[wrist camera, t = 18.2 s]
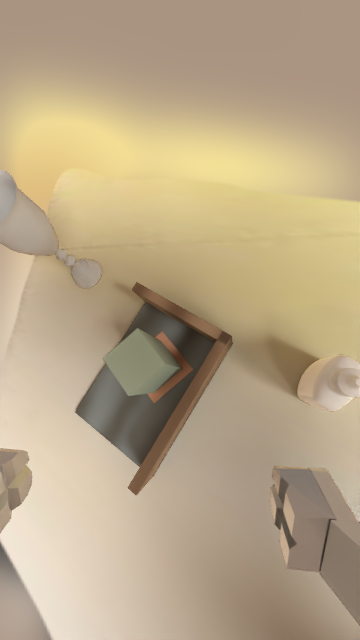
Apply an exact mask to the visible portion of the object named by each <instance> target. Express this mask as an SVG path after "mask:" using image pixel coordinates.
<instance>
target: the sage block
mask: <svg viewBox="0 0 360 640" xmlns="http://www.w3.org/2000/svg"><path fill="white" fill-rule="evenodd" d="M103 360H104V361H105V363H106V364H107V366H108V367H109V369H110V370H111V371H112V373H113V374H114V376H115V377H116V379H117V380H118V382H119V383H120V385H121V386H122V388H123V389H124V390H125V392H126V393H127V395H128V396H133V395H140V394H147V393H155V392H156V391H157V390H159V389H160V388H161V387H162V386H163V385H164V384H165V383H167V382H168V381H169V380H170V379H171V378H172V377H174V376H175V375H176V374H177V373H178V372H179V371H181V370H182V369H183V368H182V367H181V365H180V364H179V363H178V362H177V360H176V359H175V358H174V357H173V355H172V354H171V353H170V352H169V350H168V349H167V348H166V347H165V345H164V344H163V343H162V342H161V341H160V340H158V339H157V338H155V337H153V336H151V335H149V334H147V333H146V332H144V331H142V330H140V329H138V328H137V329H136V330H135V331H134V332H133V333H131V334H130V335H129V336H128V337H127V338H126V339H124V340H123V341H122V342H121V343H120V344H119V345H118V346H116V347H115V348H114V349H113V350H112V351H111V352H109V353H108V354H107V355H106V356H105V357H104V358H103Z"/></svg>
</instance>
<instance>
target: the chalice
mask: <svg viewBox="0 0 360 640" xmlns="http://www.w3.org/2000/svg"><path fill="white" fill-rule="evenodd" d="M0 243H1V244H2V245H4V246H6V247H8V248H9V249H11V250H13V251H16V252H19V253H24V254H29V255H43V256H50V255H52V254H55V255H56V256H57V259H59V260H64V261H65V265H66V266H72V270H71V272H72V276H73V278H74V280H75V282H76V284H77V285H78V286H79V287H81V288H90V287H93V286H94V285H95V284H97V282H98V281H99V280H100V278H101V274H102V269H101V266H100V264H99V263H98V262H96V261H94V260H89V259H80V260H78V261H75V257H74V256H72V255H69V256H68V255H67V254H66V251H65V250H64V249H59V248H58V245H59V242H58V239H57V236H56V234H55V231H54V229H53V227H52V225H51V223H50V221H49V219H48V218H47V216H46V214H45V212H44V211H43V210H42V209H41V208H40V207H39V206H37V205H36V204H35V203H34V202H33V201H32V200H31V199H30V198H28V197H27V196H26V195H25V194H24V193H23V192H22V191H21V190H19V189H18V187H17V185H16V183H15V181H14V179H13V177H12V176H11V175H10V174H9V173H7V172H6V171H3V170H0Z"/></svg>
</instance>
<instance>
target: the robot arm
mask: <svg viewBox="0 0 360 640" xmlns="http://www.w3.org/2000/svg"><path fill="white" fill-rule="evenodd" d="M28 461H29V456H28V452H26V451H24V450H14V449H3V448H0V533H1V532H2V530H3V529H4V528H5V526H6V525H7V523H8V522H9V521H10V519H11V514H12V510H13V509H15V508H16V507H18V506H19V505H21V504H22V502H23V501H24V499H25V498H26V497H27V495H28V493H29V490H30V487H31V485H32V472H31V470H30V469H29V468H28V467H27V466H26V464H27V463H28ZM272 477H273V480H274V485H273V486H272V487H271V492H270V503H271V511H272V516H273V520H274V524H275V525H276V526H277V527H278V529H279V530H280V538H279V542H280V546H281V549H282V553H283V556H284V560H285V563H286V567H287V568H289V569H297V570H305V571H313V572H320V575H321V576H322V578H323V579H324V580H325V582H326V583H327V584H328V585H329V587H330V588H331V589H332V591H333V592H334V593H335V594H336V596H337V597H338V598H339V600H340V601H341V602H342V603H343V605H344V606H345V607H346V609H347V610H348V611H349V612H350V614H351V615H352V616H353V617H354V619H355V620H356V621H357V623H358V624H359V625H360V522H358V521H357V519H356V517H355V516H354V514H353V512H352V511H351V509H350V507H349V506H348V504H347V502H346V501H345V499H344V497H343V495H342V494H341V492H340V490H339V489H338V487H337V485H336V484H335V482H334V480H333V479H332V477H331V475H330V474H329V472H328V471H327V470H326V469H323V468H301V467H282V466H274V468H273V474H272Z"/></svg>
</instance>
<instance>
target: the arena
mask: <svg viewBox="0 0 360 640" xmlns="http://www.w3.org/2000/svg"><path fill="white" fill-rule="evenodd" d="M132 291H134V292H135V293H136V294H137V295H138V296H139V297H140V298H142V299H143V300H144V301H145V302H146V303H145V304H144V306H143V307H142V309H141V310H140V312H139V313H138V315H137V317H136V318H135V320H134V321H133V323H132V324H131V326H130V327H129V329H128V331H127V332H126V334H125V335H124V337H123V338H122V340H121V341H120V343H121V342H122V341H123V340H124V339H126V338H127V337H128V336H129V335H130V334H131V333H133V332H134V331H135V330H136V329H137V328H138V329H140V330H142V331H144V332H146V333H147V334H149V335H151V336H153V337H155V338H157V339H158V340H160V341H161V342H162V343H163V344H164V345H165V347H166V348H167V349H168V350H169V352H170V353H171V354H172V355H173V357H174V358H175V359H176V360H177V362H178V363H179V364H180V365H181V367H182V368H183V369H182V370H181V371H179V372H178V373H177V374H176V375H175V376H174V377H172V378H171V379H170V380H169V381H168V382H167V383H165V384H164V385H163V386H162V387H161V388H160V389H159V390H157V391H156V392H155V393H147V394H140V395H133V396H128V395H127V393H126V392H125V390H124V389H123V388H122V386H121V385H120V383H119V382H118V380H117V379H116V377H115V376H114V374H113V373H112V371H111V370H110V369H109V367H108V366H107V364H106V365H105V366H104V368H103V369H102V371H101V372H100V374H99V376H98V377H97V379H96V380H95V382H94V383H93V385H92V386H91V388H90V389H89V391H88V393H87V394H86V396H85V397H84V399H83V400H82V402H81V403H80V405H79V407H78V408H77V410H76V411H75V412H76V413H77V414H78V415H79V416H80V417H81V418H83V419H84V420H85V421H86V422H87V423H88V424H90V425H91V426H92V427H93V428H94V429H96V430H97V431H98V432H99V433H100V434H101V435H103V436H104V437H105V438H106V439H107V440H109V441H110V442H111V443H112V444H113V445H114V446H116V447H117V448H118V449H119V450H120V451H122V452H123V453H124V454H125V455H126V456H127V457H129V458H130V459H131V460H132V461H133V462H135V463H136V464H137V465H138V466H139V467H140V468H139V470H138V471H137V473H136V475H135V476H134V478H133V480H132V481H131V483H130V485H129V486H128V489H129V490H131V491H132V492H133V493H134V494H135V495H137V494H138V493H139V492H140V491H141V489H142V488H143V487H144V486H145V485H146V484H147V483H148V481H149V480H150V479H151V478H152V477H153V476H154V474H155V472H156V471H157V469H158V467H159V466H160V464H161V462H162V461H163V459H164V457H165V456H166V454H167V452H168V451H169V449H170V447H171V446H172V444H173V442H174V441H175V439H176V437H177V436H178V434H179V432H180V431H181V429H182V427H183V425H184V424H185V422H186V420H187V419H188V417H189V415H190V414H191V412H192V410H193V409H194V407H195V405H196V404H197V402H198V400H199V399H200V397H201V395H202V394H203V392H204V390H205V389H206V387H207V385H208V384H209V382H210V380H211V379H212V377H213V375H214V374H215V372H216V370H217V369H218V367H219V365H220V364H221V362H222V360H223V359H224V357H225V355H226V354H227V352H228V350H229V349H230V347H231V345H232V336H231V335H229V334H227V333H225V332H224V331H222V330H220V329H218V328H217V327H215V326H213V325H211V324H210V323H208V322H206V321H204V320H203V319H201V318H199V317H197V316H195V315H194V314H192V313H190V312H188V311H187V310H185V309H183V308H181V307H180V306H178V305H176V304H174V303H173V302H171V301H169V300H167V299H166V298H164V297H162V296H160V295H159V294H157V293H155V292H153V291H151V290H150V289H148V288H146V287H144V286H143V285H141V284H139V283H137V282H136V284H135V286H134V287H133V289H132ZM120 343H119V344H120ZM119 344H118V345H119Z"/></svg>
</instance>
